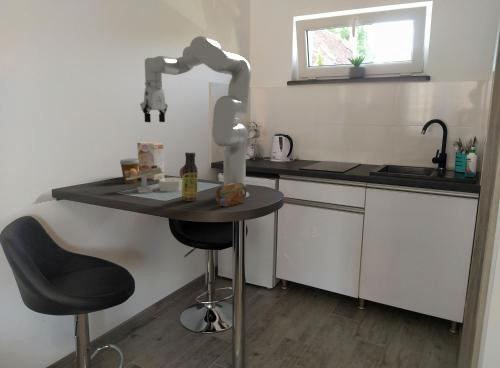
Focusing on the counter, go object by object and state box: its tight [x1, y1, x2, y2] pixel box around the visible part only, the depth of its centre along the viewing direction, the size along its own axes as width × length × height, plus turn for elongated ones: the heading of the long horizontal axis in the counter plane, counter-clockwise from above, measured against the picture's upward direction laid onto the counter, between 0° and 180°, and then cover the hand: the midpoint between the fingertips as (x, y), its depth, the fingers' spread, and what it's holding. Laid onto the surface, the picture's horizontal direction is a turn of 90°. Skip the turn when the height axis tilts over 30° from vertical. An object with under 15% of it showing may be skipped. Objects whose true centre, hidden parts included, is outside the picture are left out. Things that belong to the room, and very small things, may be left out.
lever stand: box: [136, 174, 153, 194], centre depth 170 cm, size 9×6×8 cm, turn 21°
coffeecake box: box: [137, 141, 165, 181], centre depth 205 cm, size 15×7×20 cm, turn 50°
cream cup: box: [158, 177, 182, 192], centre depth 175 cm, size 11×11×4 cm
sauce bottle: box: [181, 151, 199, 202], centre depth 151 cm, size 6×6×20 cm
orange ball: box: [129, 169, 137, 175], centre depth 168 cm, size 3×3×3 cm
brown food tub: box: [119, 158, 139, 184], centre depth 190 cm, size 10×10×12 cm
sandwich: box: [215, 183, 247, 208], centre depth 146 cm, size 15×3×8 cm, turn 137°
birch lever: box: [124, 165, 162, 180], centre depth 173 cm, size 13×16×3 cm
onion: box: [179, 165, 199, 178], centre depth 193 cm, size 10×9×10 cm
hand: (155, 122), depth 177 cm, fingers open, 9 cm apart
